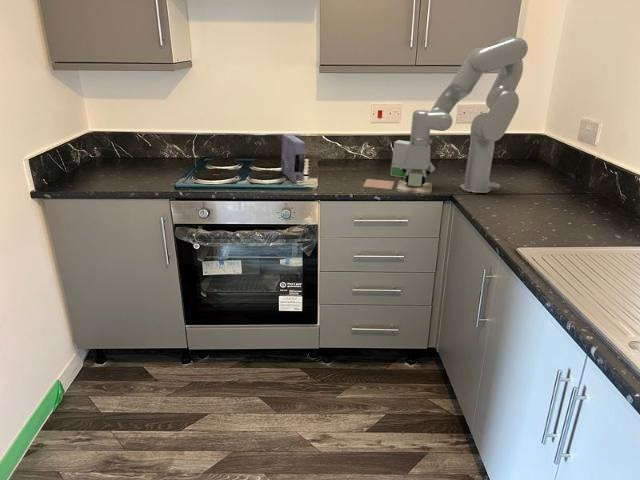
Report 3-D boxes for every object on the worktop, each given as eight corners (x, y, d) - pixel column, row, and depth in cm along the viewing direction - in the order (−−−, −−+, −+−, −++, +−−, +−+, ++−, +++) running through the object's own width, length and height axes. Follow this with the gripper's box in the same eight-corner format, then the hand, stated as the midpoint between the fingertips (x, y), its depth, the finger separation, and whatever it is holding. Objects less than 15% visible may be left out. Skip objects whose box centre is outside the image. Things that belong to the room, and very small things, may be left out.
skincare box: (390, 176, 226) (393, 141, 220) (395, 173, 232) (398, 139, 226) (407, 178, 223) (411, 144, 217) (412, 175, 228) (415, 141, 222)
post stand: (431, 185, 213) (433, 171, 211) (430, 194, 201) (432, 180, 199) (399, 182, 216) (400, 169, 214) (396, 191, 204) (397, 177, 201)
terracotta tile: (394, 182, 216) (394, 181, 216) (391, 190, 205) (391, 188, 205) (366, 180, 218) (367, 178, 218) (362, 187, 207) (362, 186, 207)
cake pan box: (305, 183, 211) (306, 141, 204) (294, 184, 209) (294, 142, 202) (291, 172, 227) (291, 133, 221) (280, 172, 226) (280, 133, 219)
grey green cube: (421, 183, 210) (422, 171, 208) (421, 186, 205) (422, 174, 203) (408, 182, 211) (409, 170, 209) (407, 185, 206) (409, 173, 204)
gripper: (441, 141, 203) (435, 184, 210) (398, 138, 206) (395, 180, 213) (440, 145, 196) (435, 189, 203) (397, 141, 199) (393, 185, 206)
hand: (414, 184), depth 208 cm, fingers closed on grey green cube, 5 cm apart
